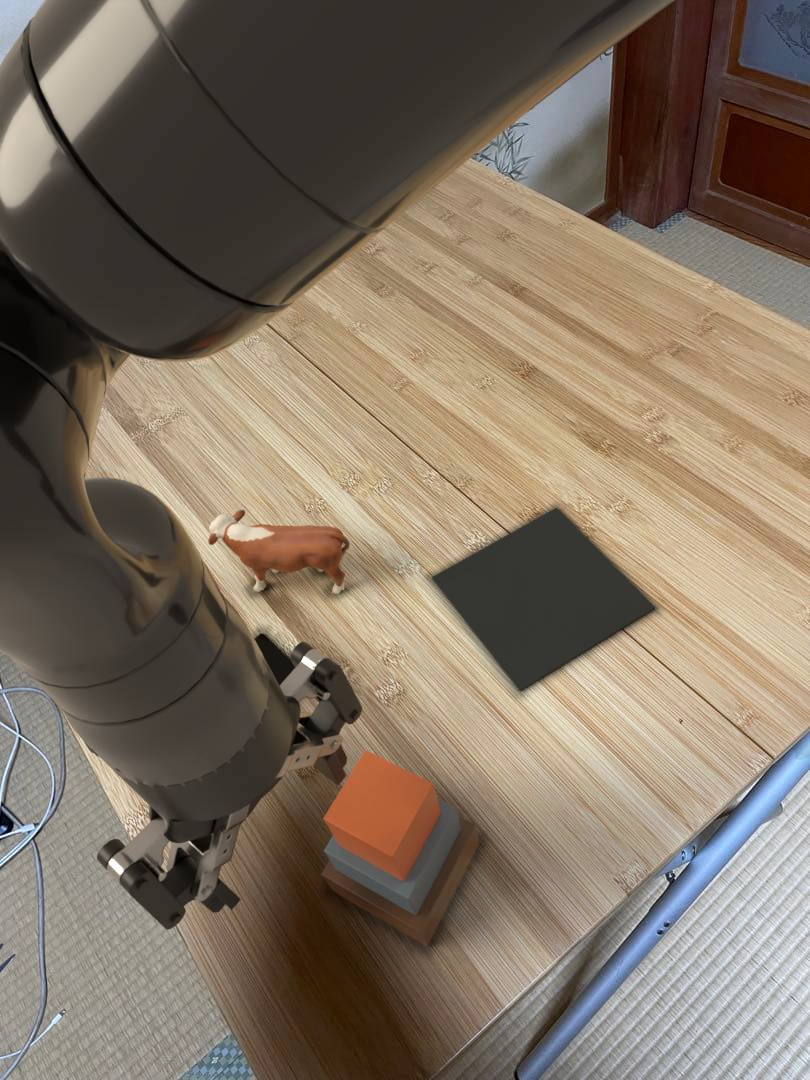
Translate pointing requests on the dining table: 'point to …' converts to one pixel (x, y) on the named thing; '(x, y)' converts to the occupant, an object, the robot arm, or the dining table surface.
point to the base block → (435, 901)
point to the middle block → (420, 874)
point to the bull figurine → (282, 547)
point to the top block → (384, 815)
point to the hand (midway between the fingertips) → (280, 830)
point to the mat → (541, 597)
